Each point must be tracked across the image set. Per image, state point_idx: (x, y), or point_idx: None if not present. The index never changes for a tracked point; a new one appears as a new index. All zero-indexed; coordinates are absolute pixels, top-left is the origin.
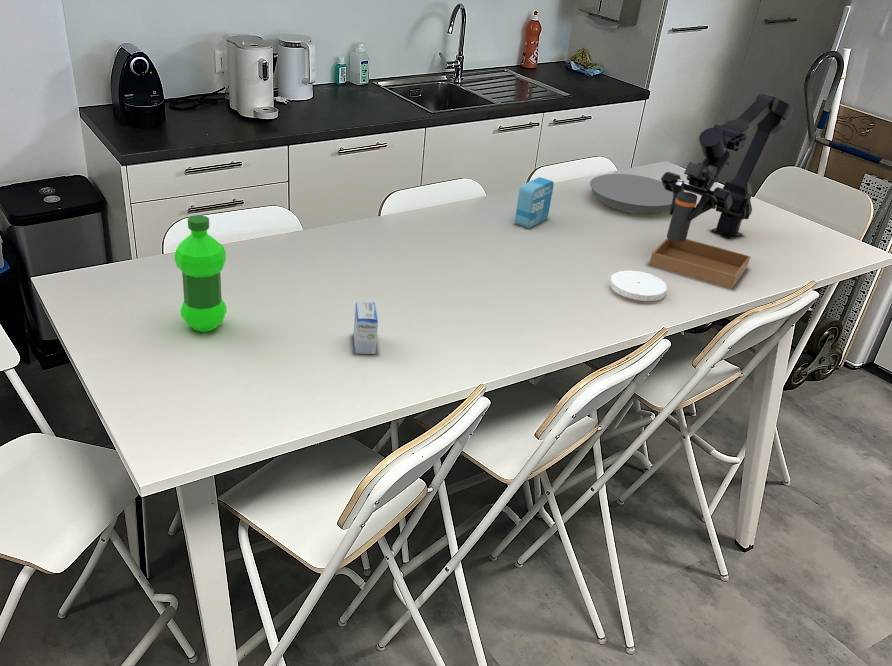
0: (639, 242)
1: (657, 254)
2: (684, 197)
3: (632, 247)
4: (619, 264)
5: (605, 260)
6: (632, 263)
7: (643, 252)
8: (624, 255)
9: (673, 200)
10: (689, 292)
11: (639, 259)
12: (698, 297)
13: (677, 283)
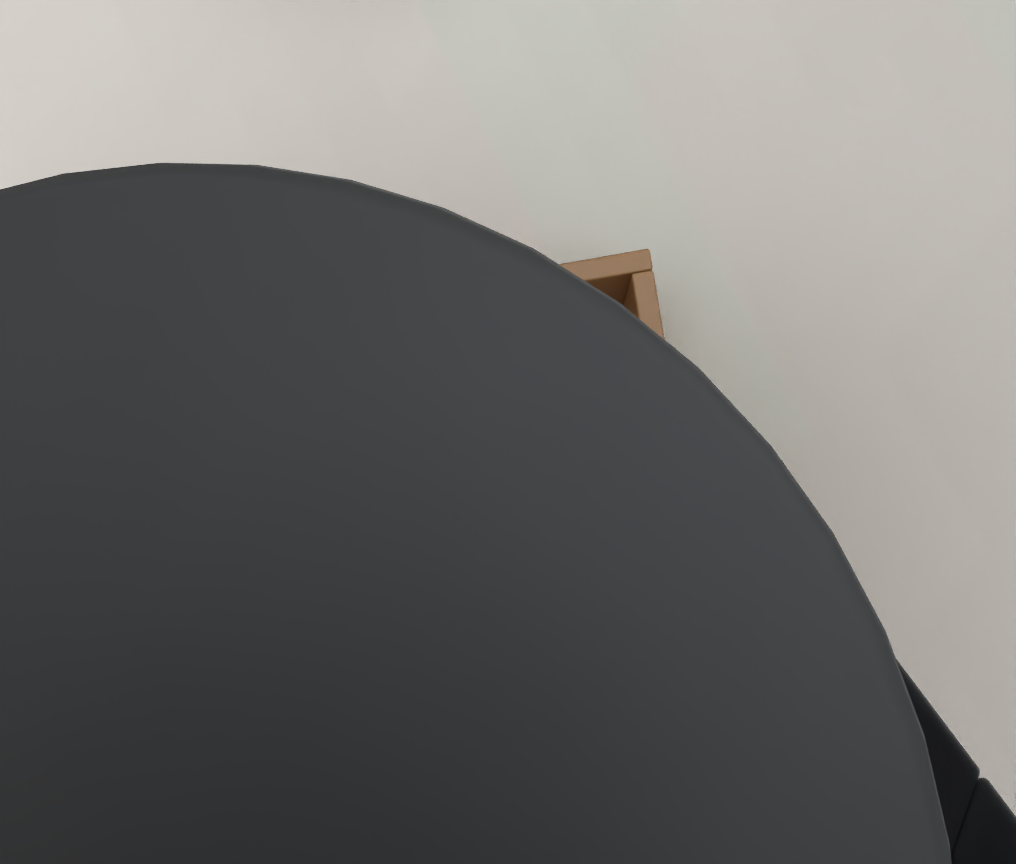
0: (1011, 762)
1: (587, 262)
2: (102, 231)
3: (991, 571)
4: (855, 74)
5: (1006, 42)
6: (778, 201)
7: (840, 543)
8: (938, 311)
9: (937, 781)
10: (127, 67)
11: (779, 346)
12: (37, 42)
13: (274, 147)
